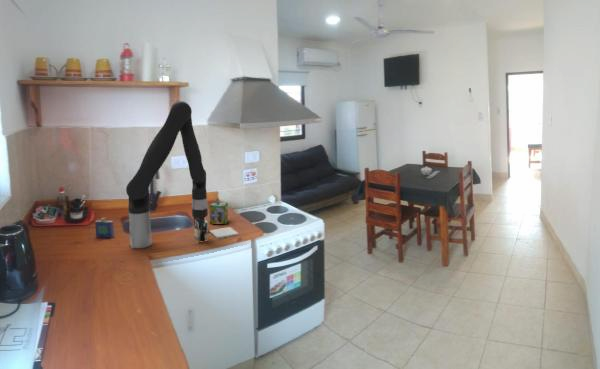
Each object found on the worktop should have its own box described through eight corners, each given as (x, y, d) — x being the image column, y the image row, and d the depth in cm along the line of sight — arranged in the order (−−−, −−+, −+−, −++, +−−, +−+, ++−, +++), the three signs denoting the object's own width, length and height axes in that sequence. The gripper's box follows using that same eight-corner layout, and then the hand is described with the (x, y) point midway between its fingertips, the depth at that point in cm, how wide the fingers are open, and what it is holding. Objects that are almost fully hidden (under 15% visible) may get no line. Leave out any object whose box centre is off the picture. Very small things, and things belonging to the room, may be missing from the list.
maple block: (197, 243, 184) (197, 231, 182) (194, 240, 188) (194, 229, 186) (207, 241, 186) (206, 230, 185) (203, 238, 190) (203, 227, 189)
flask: (115, 237, 189) (113, 217, 187) (112, 239, 186) (110, 219, 184) (98, 236, 189) (96, 216, 187) (94, 238, 187) (92, 218, 184)
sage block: (199, 234, 197) (198, 223, 196) (196, 231, 201) (195, 220, 200) (208, 232, 200) (207, 222, 198) (205, 229, 204) (204, 219, 202)
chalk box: (225, 225, 212) (224, 200, 209) (209, 224, 212) (209, 200, 209) (228, 220, 221) (228, 196, 218) (213, 220, 221) (213, 196, 218)
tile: (217, 239, 190) (217, 237, 189) (209, 232, 199) (209, 230, 199) (238, 235, 196) (238, 233, 196) (230, 229, 206) (230, 227, 206)
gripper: (188, 204, 187) (189, 236, 191) (196, 211, 175) (197, 244, 179) (202, 203, 191) (203, 233, 195) (211, 209, 179) (212, 242, 183)
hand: (200, 239), depth 187 cm, fingers closed on maple block, 5 cm apart
